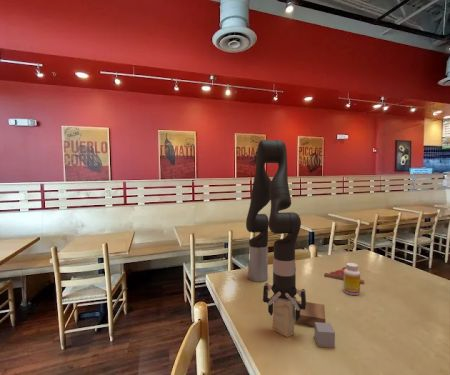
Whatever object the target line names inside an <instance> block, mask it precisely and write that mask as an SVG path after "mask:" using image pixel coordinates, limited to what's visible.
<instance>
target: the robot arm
mask: <svg viewBox="0 0 450 375" xmlns="http://www.w3.org/2000/svg"><path fill="white" fill-rule="evenodd" d="M256 150H257V152H256V163H255V172H254V176H253V183H252V187H251V188H252V189H251V195H250V203H249V207H248V213H247V215H246V216H247V217H246V220H245V222H246V223H245V228H246V230H247V231H248V233H251V234H252V233H258V235H256V236H254V237H252V238H250V239H249V242H248V243H249V244H248V245H249V247H248V248H249V249H248V250H249V252H248V253H249V255H248V256H249V260H248V261H247V263H248V265H247V267H248V268H247V273H248V274H247V276H248V278H247V279H248V280H251V281H253V282H256V283H257V282H258V283H259V282H260V283H262V282H263V283H264V282H266V281H268V277H269V276H268V274H269V273H268V270H269V269H268V268H269V267H268V262H269V261H268V258H269V257H268V252H269V250H268V242H269V231H270V232H271V233H272V234H274V235H275V234H277V235H278V234H279V235H283V234H286V236H285V237H283V238H281V239H280V238H279V239H276V240H275V241H274V243H273V263H272V285H271V284H269V283H267V282H266V283H265V284H264V286H263V292H262V302H264V303H266V304H267V306H268V307H267V313H269V315H270V316H273V309H274V301H275V300H276V299H277V298H282V299H288V300H289V301H291V303H292V305H294V307H295V321H298V319H299V318H300V310H301V309H303V310H305V308H306V302H307V301H306V300H307V299H306V289H304V288H302V289H297V287H296V286H297V285H296V283H297V282H296V278H297V277H296V276H297V275H296V273H297V272H296V271H297V266H296V265H297V264H296V245H297V241H298V240H297V239H298V237H299V234H300V230H301V227H302V220H301V217H300V215H299V214H298V213H296V212H293V211H292V212H290V211H289V212H281V211H284V210H287V209H289V208H290V207H291V206H292V198H291V192H290V188H289V187H290V186H289V181H288V180H289V178H288V176H289V175H288V174H289V173H288V154H287V153H288V150H287V146H286V142H284V141H283V140H279V139H261V140H260V141H259V142H258V145H257V149H256ZM266 164H277V165H278V166H277V170H276V172H275V173H274V176H273V177H272V179H271V178H270V176H269V174H268V173H267V171H266V168H265V165H266ZM269 203H270V212H269V217H268V215H267V214H266V213H260V211H261V210H263V209H264V208H265V207H266V206H267V205H268V204H269ZM270 291H272V292H273V294H272V296H271V297H270V298H269V292H270ZM296 295H298V297H299V298H300V301H301V304H300V303H299V302H298V301H299V300H298V299H297V296H296ZM293 298H295V300H294V299H293Z"/></svg>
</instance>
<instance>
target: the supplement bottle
mask: <svg viewBox="0 0 450 375" xmlns="http://www.w3.org/2000/svg"><path fill="white" fill-rule="evenodd" d="M345 267H347V268H346V269H345V270H344V281H343V292H344V293H346V294H347V295H351V296H358V295H360V293H361V284H360V280H361V272H360V270H359V265H358V264H357V263H355V262H347V263H346V266H345Z"/></svg>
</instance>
